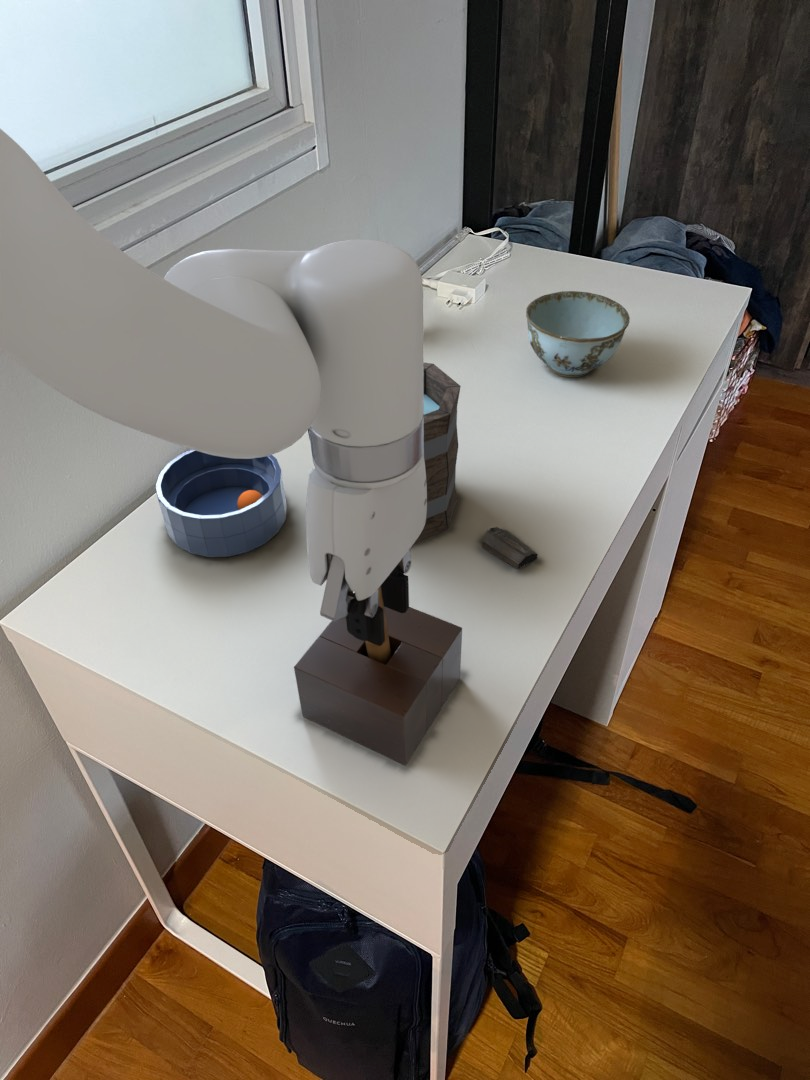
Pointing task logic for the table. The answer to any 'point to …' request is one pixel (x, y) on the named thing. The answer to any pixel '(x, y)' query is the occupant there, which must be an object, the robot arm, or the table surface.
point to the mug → (439, 448)
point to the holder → (381, 682)
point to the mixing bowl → (220, 502)
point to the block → (508, 547)
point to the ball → (248, 498)
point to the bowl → (575, 330)
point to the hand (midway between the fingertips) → (378, 619)
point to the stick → (383, 651)
